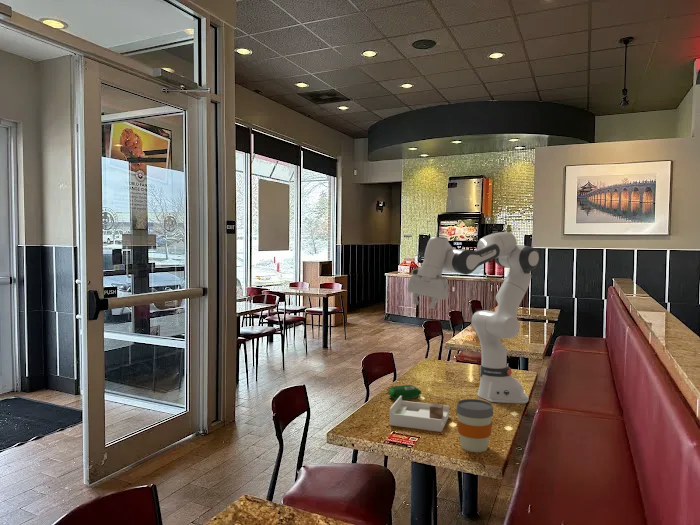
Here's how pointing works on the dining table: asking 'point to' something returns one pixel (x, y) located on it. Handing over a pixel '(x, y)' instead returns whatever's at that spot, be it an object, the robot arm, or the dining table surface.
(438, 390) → the dining table surface
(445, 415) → the box
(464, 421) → the reusable coffee cup
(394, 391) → the snack package
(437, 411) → the walnut cube
